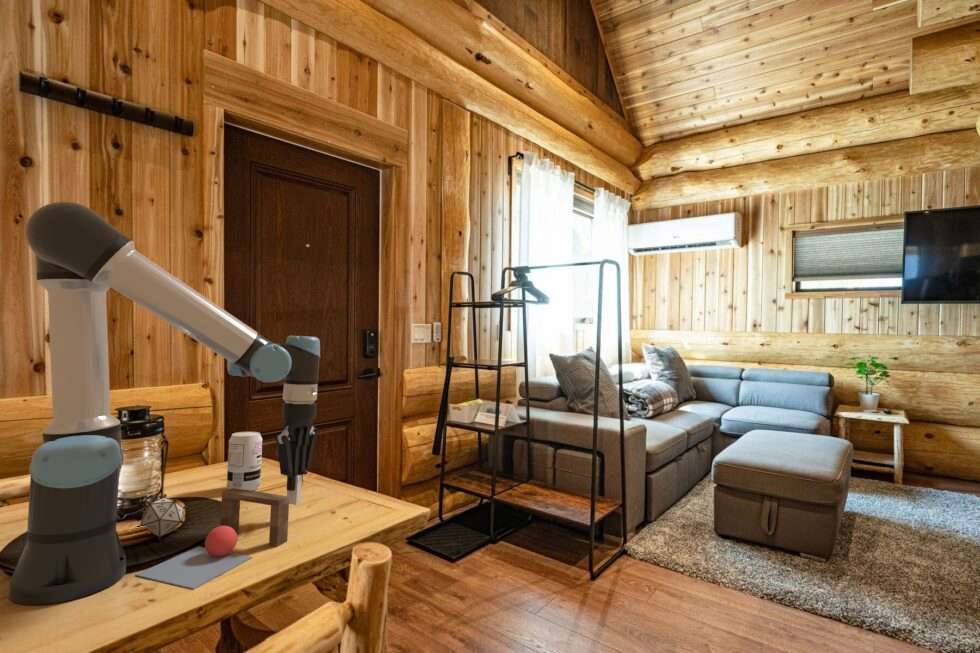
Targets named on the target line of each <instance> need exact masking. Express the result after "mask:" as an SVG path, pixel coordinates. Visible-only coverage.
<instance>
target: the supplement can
mask: <svg viewBox="0 0 980 653" xmlns="http://www.w3.org/2000/svg"><path fill="white" fill-rule="evenodd" d="M262 452H263V437H262V436H261V432H257V431H238V432H234V433H232V434H231V437H230V438H229V440H228V454H227V455H228V457H227V472H226V474H227V476H226V490H229V489H232V488H237V489H243V490H250V491H255V490H258V488H259V487H260V486H261V476H262V458H263V457H262V456H263V454H262Z"/></svg>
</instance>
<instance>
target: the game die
mask: <svg viewBox="0 0 980 653" xmlns="http://www.w3.org/2000/svg"><path fill="white" fill-rule="evenodd" d="M146 504H147V505H148V506H146V508H145V510H144V509H141V510H140V514H142V518H141V521H140V524H139V525H136V527H140V526H146V528H148V529H149V531H148V532H151V534H153V535H154V536H156V537H157V540H160V541H161V540H162V537H163V536H165V535H167V534H169V533H171V532H175V531H176V530H177V531H178V529H176V528H177V527H178V526H179V525H180V524H183V525H184V524H185V521H184V520H182V518H183V515H184V514H183V511H184V509H187V508H188V506H187V505H184V506H182V505H180V504H179V503H178V498H175V499H174V500H173V499H170V498H168V497H167V493H165V494H163V497H162V498H159V499H158V500H155V501H153V502H151V501H149V500H148V501H147V500H146ZM140 528H141V527H140ZM174 530H175V531H174Z"/></svg>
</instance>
